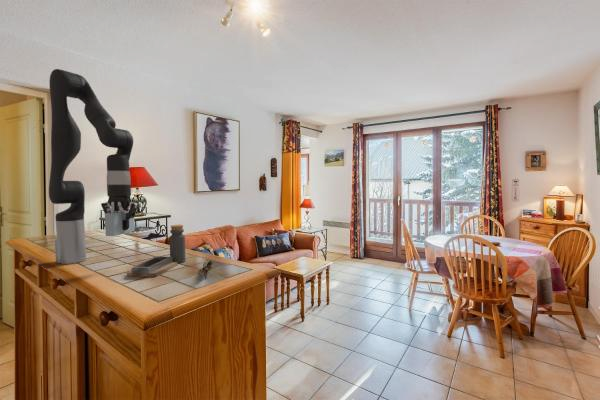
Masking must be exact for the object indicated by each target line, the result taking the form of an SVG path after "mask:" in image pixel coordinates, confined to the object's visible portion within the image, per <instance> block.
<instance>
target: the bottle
mask: <svg viewBox="0 0 600 400" xmlns="http://www.w3.org/2000/svg"><path fill="white" fill-rule="evenodd" d="M170 228H171V229H170V231H169V232H170V234H171V235H170V236H169V257H172V262H177V265H178V264H183V263H185V262H186V260H187V259H186V236H185V235H184V234H183V233H184V232H185V229H184V225H183V224H173V225H170Z"/></svg>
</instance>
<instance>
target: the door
mask: <svg viewBox="0 0 600 400" xmlns="http://www.w3.org/2000/svg"><path fill="white" fill-rule="evenodd" d="M122 220H123V218H122V214H121V213H120V212H112V213H106V214H105V213H104V222H105V223H104V226H105V228H104V229H105V236H106V237H117V236H120V235H124V234H127V233H131V232H135V231H136V229H135V217H134V218H131V219H129V228H128V230H123V225H122Z"/></svg>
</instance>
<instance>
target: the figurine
mask: <svg viewBox="0 0 600 400" xmlns="http://www.w3.org/2000/svg"><path fill="white" fill-rule="evenodd" d="M213 265H214V263H213V260H212V259H209V261H208V262H204V263H203V264H202V266H203V267H202V268H201V271H200V275H202V276H204V280H207V277H208V271H209V269H213ZM205 271H206V272H205Z"/></svg>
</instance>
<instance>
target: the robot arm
mask: <svg viewBox="0 0 600 400" xmlns="http://www.w3.org/2000/svg"><path fill="white" fill-rule="evenodd" d="M48 82H49V95H50V104H51V106H50V107H51V130H50V131H51V132H50V135H51V137H50V147H51V148H50V149H51V151H50V153H51V154H50V156H51V157H50V161H51V163H50V164H51V165H50V173H49V183H48V197H49V200H50V202H51V203H52V204H54V205H64V204H70V205H69V207H68V208H66V209H64V210H62V211H60V212H57V213H56V214H55V229H56V238H55V239H54V251H55V253H54V254H55V263H56V262H58V264H59V263H61V264H60V265H69V264H76V263H80V262H84V261H86V260H87V248H86V246H87V245H86V230H85V229H86V228H85V212H86V211H85V200H86V199H85V187H84V184H83V183H82V181H80V180H64V177H65V172H66V170H67V169H68V167H69V165H70V164H71V163H72V162H73V160H74V159H76V157H77V155H78V154H79V153H80V151H81V148H82V147H81V145H82V133H81V130H80V128H79V125H78V124H77V122H76V121H75V120H74V118H73V116H72V115H71V112H70V110H69V106H68V98H73V99H78V100H79V101H82V103H83V104H84V109H83V110H84V116H85V118H86V119H87V120H88V121H89V123H90V124H91V126H93V128H94V129H95V131H96V134H97V137H98V139H99V141H100V143H101V144H102V145H104V146H105V147H107V148H113V149H117V150H116V152H115V153H113V154H109V155H107V157H106V192H107V197H108V200H107V201H105V202H102V203H101V204H100V205H101V209H102V210H103V212H104V215H105V214H106V213H112V212H120V213H121V214H122V218H123V220H122V225H123V230H128V228H129V219H131V218H134V219H135V215H136V213H137V210H138V207H139V203H138V202H134V201H132V198H131V196H132V187H131V186H132V185H131V181H132V179H131V172H130V159H131V158H130V157H131V155H132V154H131V153H132V150H133V147H134V136H133V134H132V133H131V132H130V131H129V130H127V129H121V128H117V125H116V124H117V123H116V121H115V119H114V118H113V117H112V116H111V115H110V113H109V112H108V111H107V110H106V109H105V107H104V106H103V105H102V104H101V102H100V100H99V99H98V97H97V95H96V93H95V92H94V90H93V89H92V87H91V85H90V84H89V83H90V82H89V81H87V79H86V78H85V77H84V76H82V75H81V74H77V73H73V72H71V71H68V70H63V69H61V68H60V69H59V68H55V69H53V70H52V71H51V73H50V75H49V81H48Z"/></svg>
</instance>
